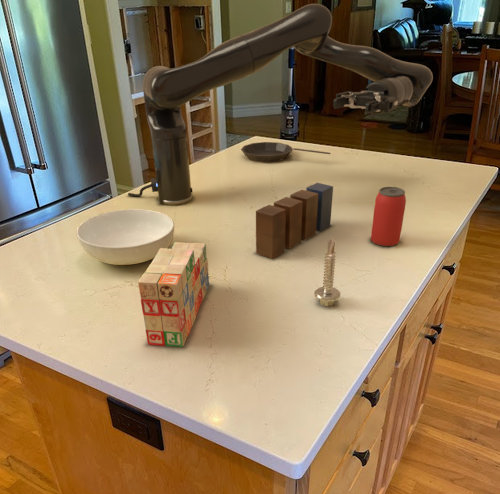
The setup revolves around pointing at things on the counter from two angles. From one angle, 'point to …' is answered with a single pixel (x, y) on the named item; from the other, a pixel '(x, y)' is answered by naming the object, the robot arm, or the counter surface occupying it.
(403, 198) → the beer can
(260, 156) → the frying pan
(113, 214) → the serving bowl
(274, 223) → the line block
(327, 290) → the screw
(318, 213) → the block
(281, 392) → the counter surface
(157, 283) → the stack of blocks
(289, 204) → the line block
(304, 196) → the line block
